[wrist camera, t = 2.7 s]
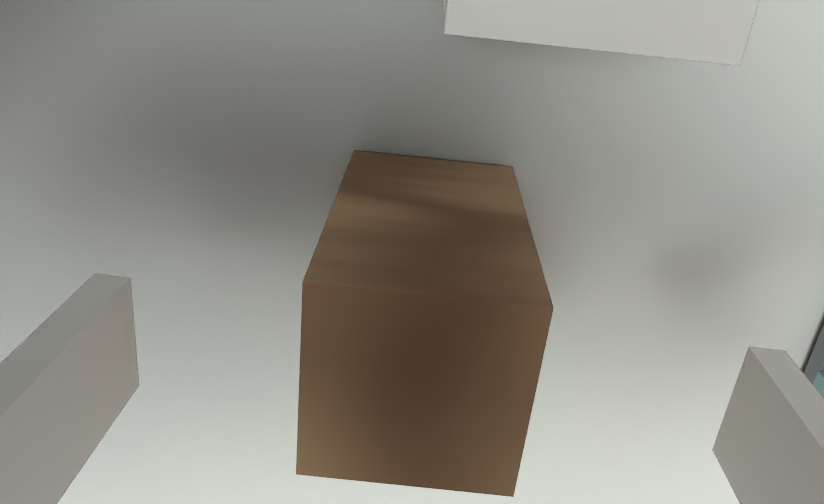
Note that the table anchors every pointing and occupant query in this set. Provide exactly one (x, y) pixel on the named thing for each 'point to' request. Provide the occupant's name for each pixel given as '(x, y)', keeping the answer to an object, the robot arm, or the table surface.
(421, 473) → the walnut plug
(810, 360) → the teal-ribbed grey panel
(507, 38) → the white rectangular block
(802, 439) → the robot arm
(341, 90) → the table surface
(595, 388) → the table surface
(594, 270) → the table surface
